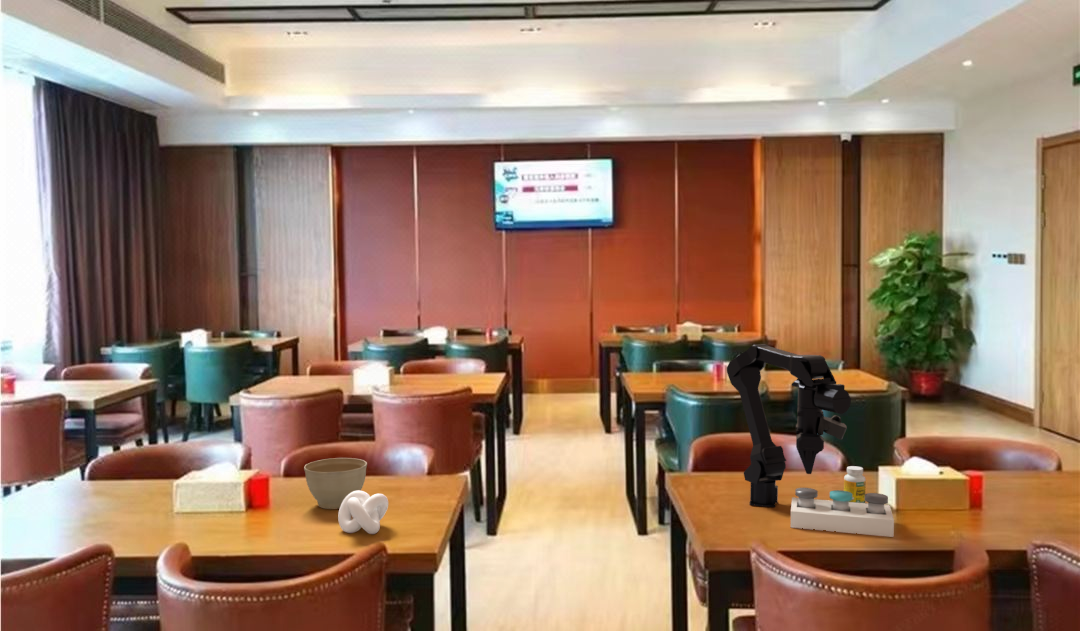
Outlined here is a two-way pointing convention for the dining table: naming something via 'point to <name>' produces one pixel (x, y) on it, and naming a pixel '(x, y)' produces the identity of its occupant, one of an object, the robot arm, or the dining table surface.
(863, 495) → the supplement bottle
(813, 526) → the knob mount
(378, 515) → the white knot sculpture
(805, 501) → the knob
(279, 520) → the dining table surface
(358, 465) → the planter bowl
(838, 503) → the middle knob
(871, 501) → the knob
